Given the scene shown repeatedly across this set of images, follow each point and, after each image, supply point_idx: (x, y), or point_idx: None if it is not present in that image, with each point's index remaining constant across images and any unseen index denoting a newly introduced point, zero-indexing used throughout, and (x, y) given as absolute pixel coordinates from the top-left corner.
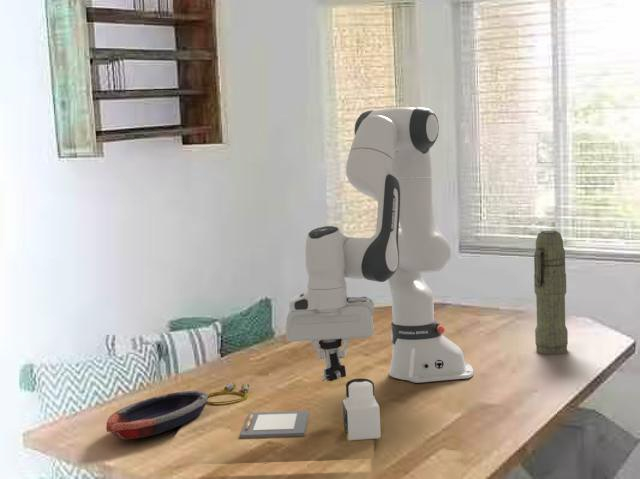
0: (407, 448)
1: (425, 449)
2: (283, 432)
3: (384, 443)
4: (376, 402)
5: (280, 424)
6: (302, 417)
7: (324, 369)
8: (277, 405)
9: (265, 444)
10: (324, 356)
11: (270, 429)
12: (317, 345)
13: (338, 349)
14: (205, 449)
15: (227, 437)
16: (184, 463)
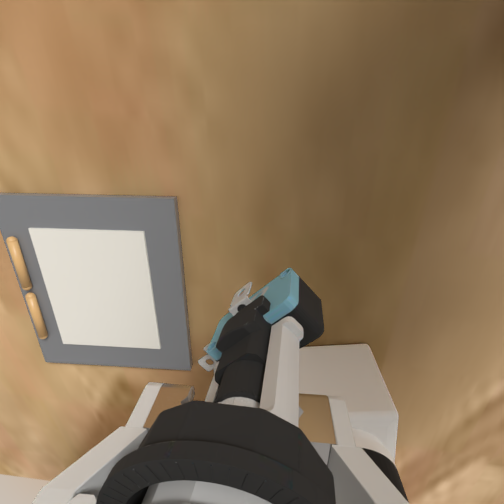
0: (409, 450)
1: (443, 459)
2: (141, 361)
3: None
4: (393, 458)
5: (119, 317)
6: (166, 262)
7: (208, 352)
8: (44, 78)
9: (119, 394)
10: (192, 394)
11: (105, 346)
12: (104, 476)
13: (298, 417)
14: (8, 400)
15: (19, 348)
16: (6, 448)
